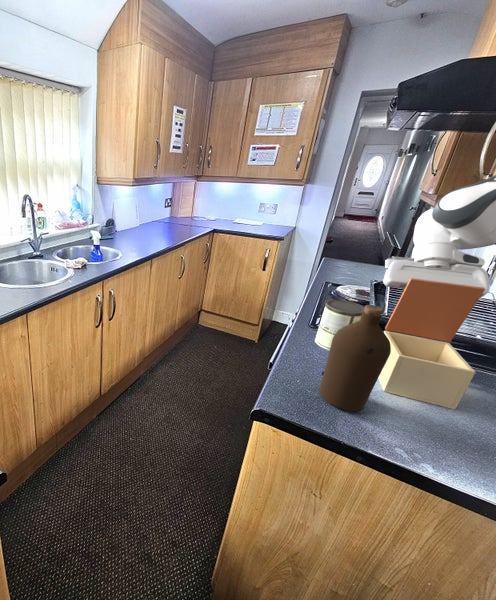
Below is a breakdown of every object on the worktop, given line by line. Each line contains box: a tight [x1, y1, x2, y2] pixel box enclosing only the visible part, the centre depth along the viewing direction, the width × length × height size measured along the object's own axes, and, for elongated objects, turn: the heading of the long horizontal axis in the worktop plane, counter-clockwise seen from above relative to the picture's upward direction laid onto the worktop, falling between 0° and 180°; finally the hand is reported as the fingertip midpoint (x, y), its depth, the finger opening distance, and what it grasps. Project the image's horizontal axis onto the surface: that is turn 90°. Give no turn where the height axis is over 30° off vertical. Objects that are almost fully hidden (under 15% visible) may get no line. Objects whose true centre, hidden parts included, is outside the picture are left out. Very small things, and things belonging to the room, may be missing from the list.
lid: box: [384, 278, 485, 343], centre depth 85 cm, size 16×14×1 cm
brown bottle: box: [318, 304, 391, 412], centre depth 76 cm, size 11×11×25 cm
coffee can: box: [314, 298, 365, 351], centre depth 103 cm, size 10×10×14 cm
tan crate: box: [377, 330, 476, 410], centre depth 86 cm, size 16×14×11 cm
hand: (431, 305), depth 85 cm, fingers closed, pressing on lid
